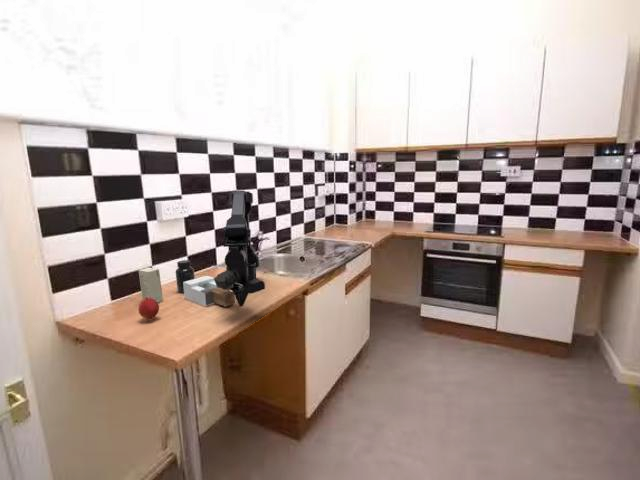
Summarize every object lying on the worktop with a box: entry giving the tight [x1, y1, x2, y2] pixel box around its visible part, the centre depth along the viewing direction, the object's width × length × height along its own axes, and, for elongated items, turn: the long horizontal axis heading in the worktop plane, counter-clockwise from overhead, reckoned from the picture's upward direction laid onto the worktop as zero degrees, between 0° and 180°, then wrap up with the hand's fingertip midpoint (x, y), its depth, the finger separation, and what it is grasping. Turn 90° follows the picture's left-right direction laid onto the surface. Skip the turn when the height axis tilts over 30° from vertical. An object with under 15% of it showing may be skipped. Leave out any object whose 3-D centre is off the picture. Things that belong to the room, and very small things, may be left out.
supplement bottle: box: [175, 259, 196, 294], centre depth 133 cm, size 7×7×12 cm
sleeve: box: [183, 275, 231, 307], centre depth 125 cm, size 10×14×6 cm
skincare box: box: [138, 267, 164, 304], centre depth 122 cm, size 6×4×12 cm
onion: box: [138, 296, 160, 321], centre depth 107 cm, size 6×6×8 cm
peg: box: [211, 287, 236, 308], centre depth 120 cm, size 4×10×4 cm, turn 52°
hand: (241, 306), depth 113 cm, fingers closed
